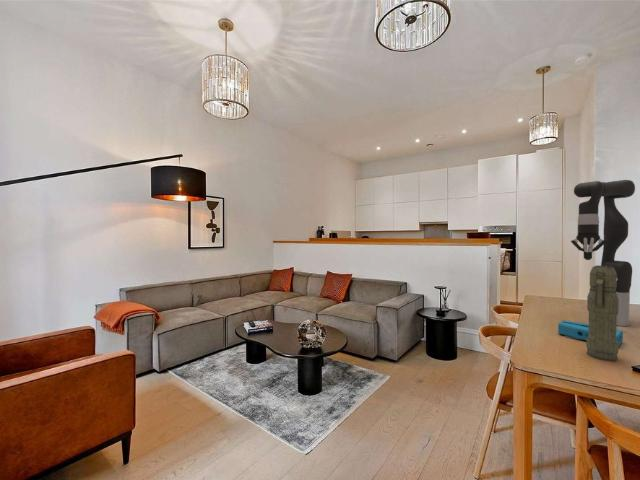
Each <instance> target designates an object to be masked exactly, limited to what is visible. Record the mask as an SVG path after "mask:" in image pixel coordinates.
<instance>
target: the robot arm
mask: <svg viewBox="0 0 640 480" xmlns="http://www.w3.org/2000/svg"><path fill="white" fill-rule="evenodd" d="M635 191H636V184H635V183H634V182H633V180H631V179H621V180H614V181H607V182H605V181H602V182H601V181H599V180H596V181H595V180H594V181H587V182H579V183H578V184H577V185H575V186H574V188H573V194H574V195H575V196H576V197H577V198H589V200H587V201H583V202H581V203H579V205H578V217H577V235H576V237H575V238H574V239H571V240H570V243H572V245H573V246H574V247H575V248H576V249H577V250H578V251H581V252H583V259H585V261H590V260H591V259H593V252H596V251H597V252H598V250H599V249H601V248H602V247H603V248H602V256H601V263H600V266H611V267H613V268H614V269H615V271H616V274H617V288H616V291H617V296H618V299H619V311H618V314H617V326H619V327H629V326H630V297H631V296H630V295H631V292H630V290H631V288H632V279H633V278H632V277H633V266H632V264H631V263H630V262H628V261H624V260H615V257H616V252H617V251H618V249H619V248H620V247H621V245H623V244H624V243H625V241H626V240H627V238H628V236H629V222H628V220H627V219H626V218H625V216H624V215H623V214H622V212H620V210H618V208H617V206H616V202H615V199H624V198H625V199H626V198H629V197H632V196H633V195H634V194H635ZM602 197H603V207H604V209H603V210H604V213H603V214H604V216H603V217H604V218H603V220H604V221H603V239H602V238H601V236H600V235H599V234H600V217H599V206H600V202H601V199H602ZM578 243H580V244H581V245H582V246H581V245H580V244H578ZM596 243H598V244H597V245H595V244H596ZM594 245H595V247H594Z"/></svg>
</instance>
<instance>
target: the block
mask: <svg viewBox="0 0 640 480" xmlns="http://www.w3.org/2000/svg"><path fill="white" fill-rule="evenodd" d="M557 325H558V329H557V331H558V332H557V333H558V334H559V335H564V336H565V335H567V336H570V337H574V338H578V339H577V340H579V339H583V340H582V341H586V340H587V337H588V332H589V323H584V322H580V321H579V322H578V321H571V320H562V321H560V322H559V323H558V324H557ZM623 335H624V331H623V329H618V328H616V340H617V343H618V347H619V346H620V345H621V344H622V342H623V341H624V337H623Z"/></svg>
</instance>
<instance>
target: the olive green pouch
mask: <svg viewBox="0 0 640 480" xmlns="http://www.w3.org/2000/svg"><path fill="white" fill-rule="evenodd" d="M589 286H590V287H589V292H588V293H587V302H586V303H587V305H586V307H587V308H586V309H587V311H588V324H589V332H588V337H587V341H586V354H587V356H590V357H592V358H594V359H598V360H602V361H609V362H610V361H612V362H615V361H617V360H618V353H619V346H618V343H617V340H616V329H617V326H618V325H617V314H618V311H619V299H618V296H617V291H616V288H617V274H616V271H615V269H614V268H613V267H611V266H601V265H594V266H592V268H591V270H590V271H589Z"/></svg>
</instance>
